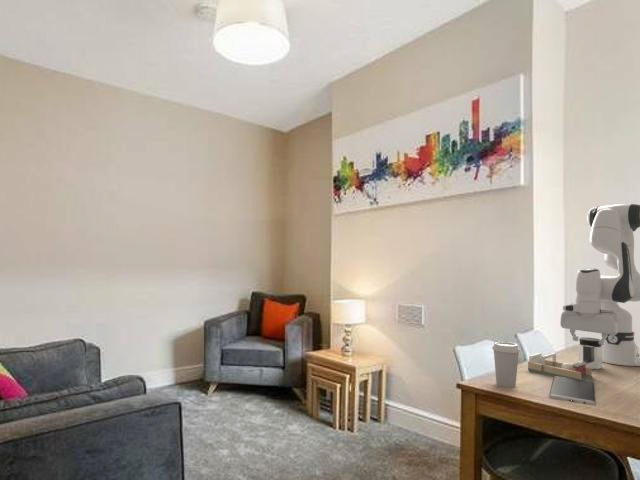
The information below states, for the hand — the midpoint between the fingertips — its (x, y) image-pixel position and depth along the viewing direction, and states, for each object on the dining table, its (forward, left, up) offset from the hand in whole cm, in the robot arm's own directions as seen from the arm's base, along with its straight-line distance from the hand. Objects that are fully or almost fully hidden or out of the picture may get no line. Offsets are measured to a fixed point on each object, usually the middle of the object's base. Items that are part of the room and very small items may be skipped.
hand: (588, 342), depth 176 cm
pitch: (+7, -8, -13) cm, 17 cm away
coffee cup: (+40, -13, -13) cm, 44 cm away
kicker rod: (+5, 0, -12) cm, 13 cm away
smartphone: (+27, +5, -14) cm, 30 cm away
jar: (-16, -5, -13) cm, 21 cm away
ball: (+7, -5, -10) cm, 13 cm away
